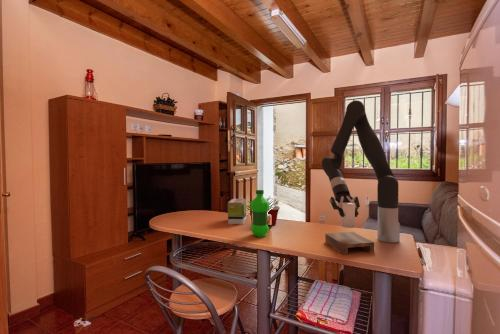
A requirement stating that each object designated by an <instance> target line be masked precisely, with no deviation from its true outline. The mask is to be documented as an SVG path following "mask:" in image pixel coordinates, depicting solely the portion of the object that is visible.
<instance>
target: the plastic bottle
mask: <svg viewBox="0 0 500 334" xmlns="http://www.w3.org/2000/svg"><path fill="white" fill-rule="evenodd" d="M264 191H265V190H264V189H256V190H255V194H256V196H255V198H253V199H252V200H251V201H250V205H249V207H250V210H251V211H252V224H251V227H250V231H251V232H252V234H254V235H255V237H258V238H261V237H266V235H267V234H268V233H269V231H270V226H268V224H267V210H268V209H269V205H270V202H269V201H268V200H267V198H265V197H264V195H263V194H264Z"/></svg>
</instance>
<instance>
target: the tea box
mask: <svg viewBox="0 0 500 334" xmlns="http://www.w3.org/2000/svg"><path fill="white" fill-rule="evenodd" d="M246 203H247V200H246V198H231V199H230V200H229V201H227V222H228V223H227V224H228V225H231V224H239V226H241V225H242V226H243V225H244V223H245V222H246V220H247V204H246Z"/></svg>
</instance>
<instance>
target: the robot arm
mask: <svg viewBox="0 0 500 334" xmlns="http://www.w3.org/2000/svg"><path fill="white" fill-rule="evenodd" d="M354 129H355V132H356V135H357V138H358V142H359V145H360V148H361V150H362V152H363V155H364V157H366V160H367V161H368V163H369V165H370V166H371V167H372V169H373V171H374V174H375V176H376V180H377V186H376V187H377V190H376V191H377V193H376V194H377V195H376V197H377V240H378V241H379V242H383V243H389V244H391V243H392V244H394V243H398V242H400V239H401V238H400V236H401V235H400V234H401V224H400V222H399V181H398V180H397V178H396V176H395V174H394V173H393V172H392V169H391V167H390V165H389V163H388V160H387V156H386V154H385V153H386V152H385V151H384V148H383V146H382V144H381V140H380V139H379V137H378V135H377V134H376V132H375V130H374V129H373V128H372V126H371V124H370V122H369V119H368V117H367V114H366V108H365V105H364V103H363V102H362V101H360V100H357V99H356V100H352V101H350V102H349V103H348V104H347V106H346V109H345V112H344V117H343V120H342V123H341V125H340V129H339V130H338V133H337V134H336V136H335V139H334V140H333V144H332V146H331V148H330V153H331V154H332V155H333V156H334V157H331V156H324V157H323V158H322V160H321V164H320V165H321V168H322V171H324V173H325V175H326V176H327V178H328V180H329V183H330V187H331V191H332V193H333V196H334V197H333V196H331V197H330V199H329V202H330V204H331V206H332V208H333V210H334V211H335V210H337V211H338V214H339V215H340V217H344V212H343V209H342V203H343V202H350V203H355V218H357V217H358V216H359V214H360V213H359V211H358V210H359V209H360V207H361V205H360V201H359V200H360V199H359V197H358V196H355V197H354V196H352V195H351V192H350V190H349V187H348V185H347V182H346V179H345V178H344V176H343V173H342V171H340V170H341V168H342V165H343V158H344V153H345V151H346V148H347V146H348V144H349V141H350V139H351V136H352V133H353V130H354ZM337 203H338V204H337Z"/></svg>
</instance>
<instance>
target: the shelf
mask: <svg viewBox="0 0 500 334" xmlns="http://www.w3.org/2000/svg"><path fill="white" fill-rule="evenodd" d="M324 237H325V244H327V245H328V246H330V247H331V248H332V249H334V250H336V251H337V252H339V253H341V254H342V255H344V256H345V255H348V254H349V248H361V249H363V250H365V251H366V252H368V253H375V242H374V241H373V240H370V239H368V238H367V237H364V236H362V235H360V234H358V233H356V232H354V231H345V232H343V231H342V232H330V233H329V232H328V233H325V235H324Z"/></svg>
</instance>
